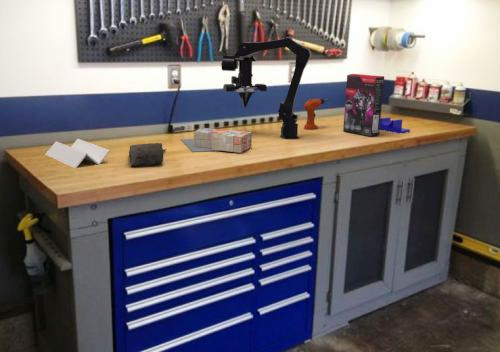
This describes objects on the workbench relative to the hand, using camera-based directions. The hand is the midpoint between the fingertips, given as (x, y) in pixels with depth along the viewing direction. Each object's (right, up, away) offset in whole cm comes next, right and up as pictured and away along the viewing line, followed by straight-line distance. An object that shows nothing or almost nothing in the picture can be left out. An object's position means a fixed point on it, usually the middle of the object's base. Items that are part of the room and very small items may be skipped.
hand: (244, 107), depth 230 cm
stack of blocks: (-7, -15, -20) cm, 26 cm away
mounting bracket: (+71, -9, +24) cm, 76 cm away
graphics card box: (+54, -11, +13) cm, 57 cm away
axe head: (-34, -25, -44) cm, 61 cm away
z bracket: (-59, -25, -47) cm, 79 cm away
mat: (-17, -18, -20) cm, 32 cm away
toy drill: (+35, -7, +26) cm, 44 cm away
